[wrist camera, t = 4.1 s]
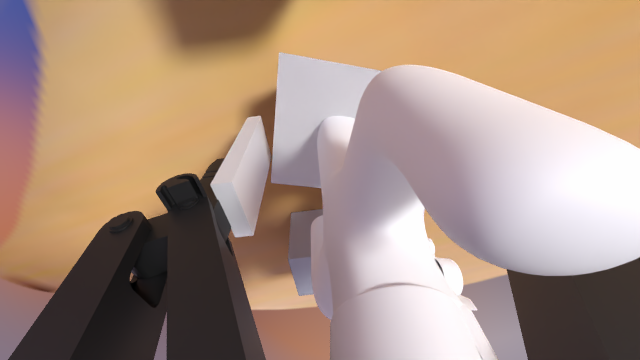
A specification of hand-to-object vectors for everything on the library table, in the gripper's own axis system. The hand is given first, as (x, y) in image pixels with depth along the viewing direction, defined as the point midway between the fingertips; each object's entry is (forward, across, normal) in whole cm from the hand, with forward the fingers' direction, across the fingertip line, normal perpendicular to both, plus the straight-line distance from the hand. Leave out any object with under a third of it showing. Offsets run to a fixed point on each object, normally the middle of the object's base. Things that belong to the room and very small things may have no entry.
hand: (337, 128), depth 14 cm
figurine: (+3, 0, 0) cm, 3 cm away
